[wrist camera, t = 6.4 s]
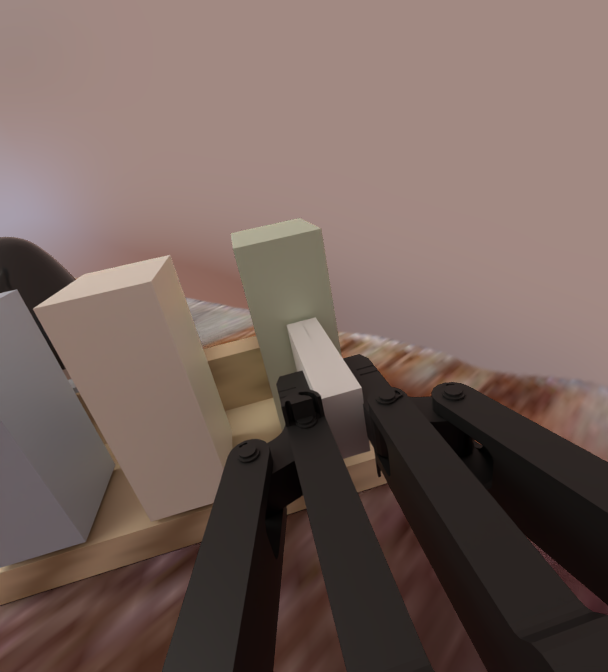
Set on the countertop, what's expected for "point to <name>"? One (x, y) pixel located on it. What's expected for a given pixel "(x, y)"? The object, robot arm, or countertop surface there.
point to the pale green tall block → (284, 289)
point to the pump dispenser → (32, 277)
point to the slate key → (43, 446)
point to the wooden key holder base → (181, 529)
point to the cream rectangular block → (144, 380)
